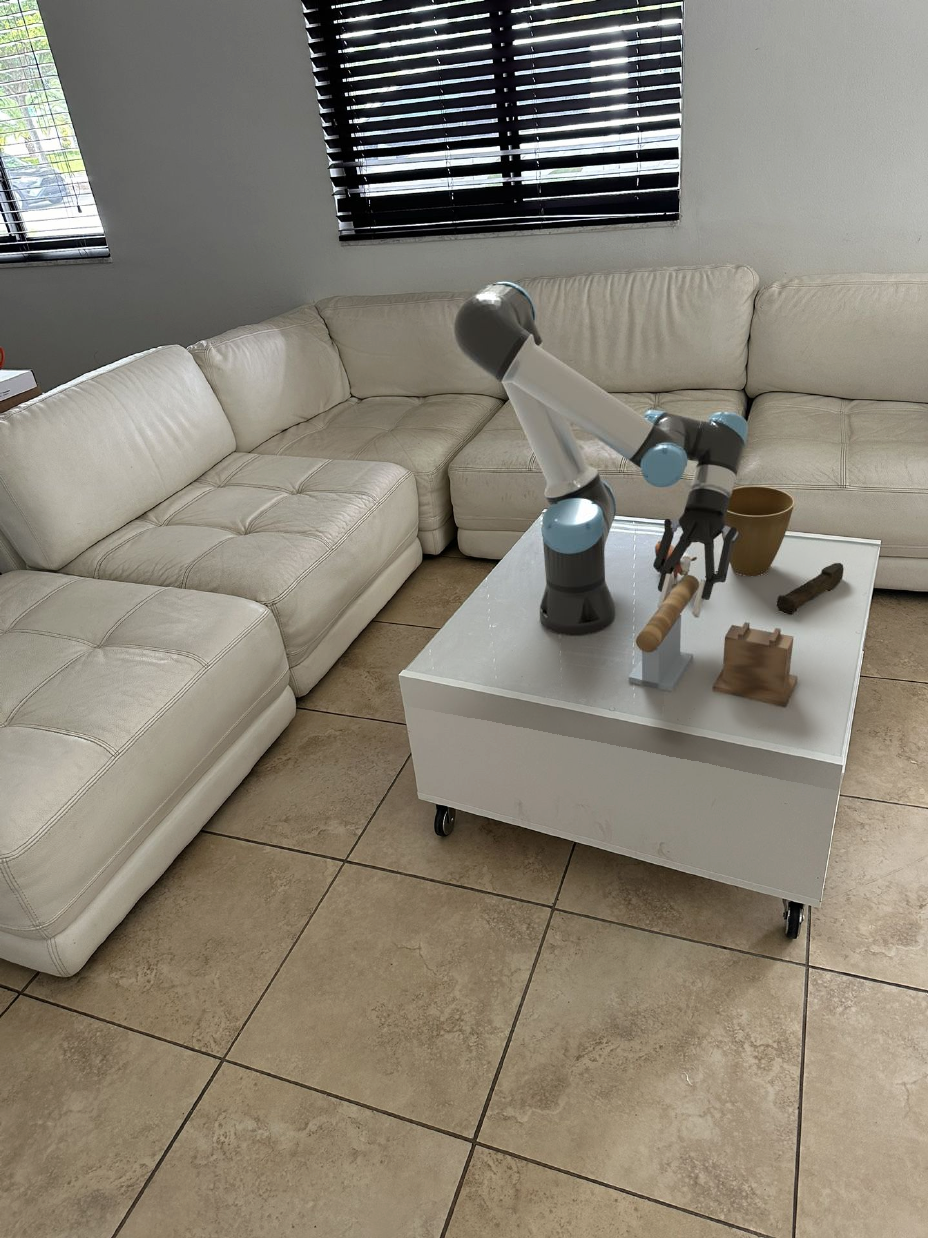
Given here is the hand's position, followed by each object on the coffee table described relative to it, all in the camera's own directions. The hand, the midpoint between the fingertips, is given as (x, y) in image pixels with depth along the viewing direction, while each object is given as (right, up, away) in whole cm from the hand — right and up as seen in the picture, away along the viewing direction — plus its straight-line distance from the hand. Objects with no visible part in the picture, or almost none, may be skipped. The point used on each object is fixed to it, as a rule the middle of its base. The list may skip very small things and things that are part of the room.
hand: (678, 612), depth 148 cm
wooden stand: (+11, -13, -9) cm, 19 cm away
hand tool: (+30, +3, +14) cm, 33 cm away
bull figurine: (+6, +7, +25) cm, 27 cm away
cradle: (-3, -10, -2) cm, 11 cm away
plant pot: (+22, +9, +26) cm, 35 cm away
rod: (-3, -2, -4) cm, 5 cm away
